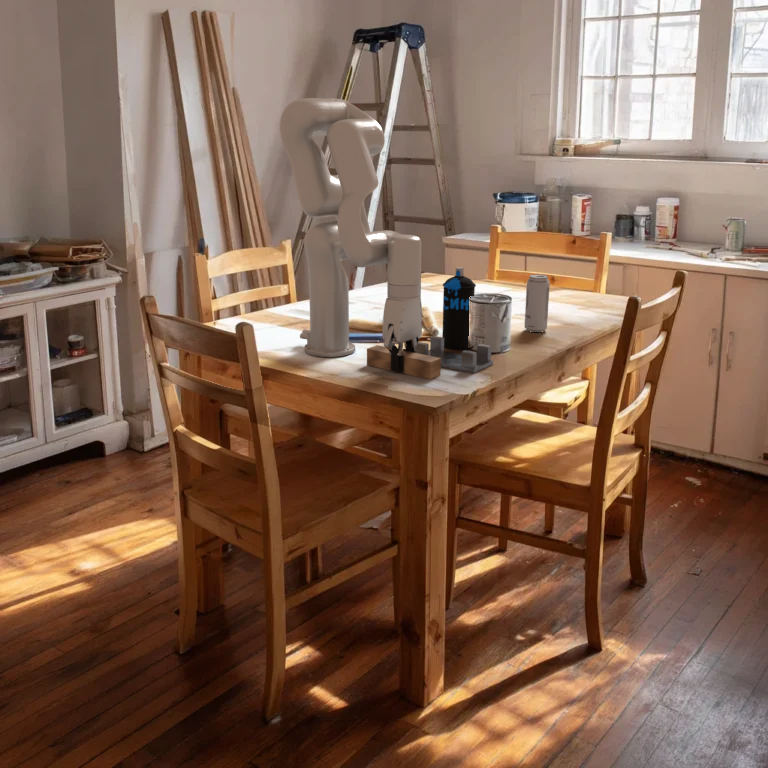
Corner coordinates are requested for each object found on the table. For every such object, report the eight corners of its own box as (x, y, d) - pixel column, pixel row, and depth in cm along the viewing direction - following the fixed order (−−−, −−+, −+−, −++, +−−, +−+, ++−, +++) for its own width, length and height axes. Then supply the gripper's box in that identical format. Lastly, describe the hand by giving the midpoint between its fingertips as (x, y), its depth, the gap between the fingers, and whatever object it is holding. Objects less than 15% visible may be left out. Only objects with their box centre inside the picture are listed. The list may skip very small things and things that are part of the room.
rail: (366, 365, 211) (366, 348, 210) (377, 361, 214) (377, 345, 213) (430, 379, 201) (431, 362, 200) (440, 375, 204) (440, 358, 203)
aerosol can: (448, 340, 233) (450, 263, 227) (478, 344, 230) (481, 266, 224) (436, 347, 226) (437, 269, 220) (466, 351, 223) (469, 271, 217)
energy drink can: (523, 327, 247) (526, 273, 242) (545, 328, 246) (549, 274, 242) (524, 333, 241) (527, 278, 236) (547, 333, 240) (551, 278, 236)
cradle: (412, 361, 215) (412, 342, 213) (432, 352, 222) (432, 335, 220) (473, 373, 205) (474, 354, 204) (493, 364, 212) (493, 346, 211)
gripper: (410, 283, 210) (409, 358, 216) (368, 294, 197) (368, 374, 203) (438, 286, 206) (436, 363, 212) (396, 299, 193) (395, 380, 199)
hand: (403, 368), depth 207 cm, fingers closed on rail, 4 cm apart
